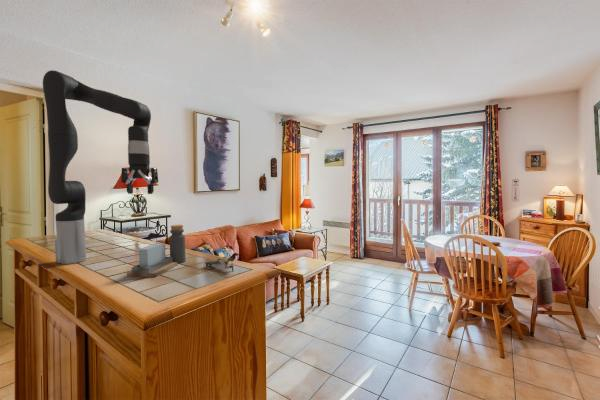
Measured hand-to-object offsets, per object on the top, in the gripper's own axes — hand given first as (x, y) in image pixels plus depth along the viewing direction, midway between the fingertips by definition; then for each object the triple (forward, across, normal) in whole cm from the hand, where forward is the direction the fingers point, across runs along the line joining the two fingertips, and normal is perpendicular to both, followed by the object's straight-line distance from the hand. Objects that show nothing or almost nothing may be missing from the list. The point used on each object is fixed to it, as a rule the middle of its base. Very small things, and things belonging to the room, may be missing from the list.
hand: (140, 193), depth 120 cm
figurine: (+28, +35, -5) cm, 45 cm away
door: (+27, +11, -10) cm, 31 cm away
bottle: (+28, +14, +2) cm, 32 cm away
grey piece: (+28, +11, -10) cm, 32 cm away
